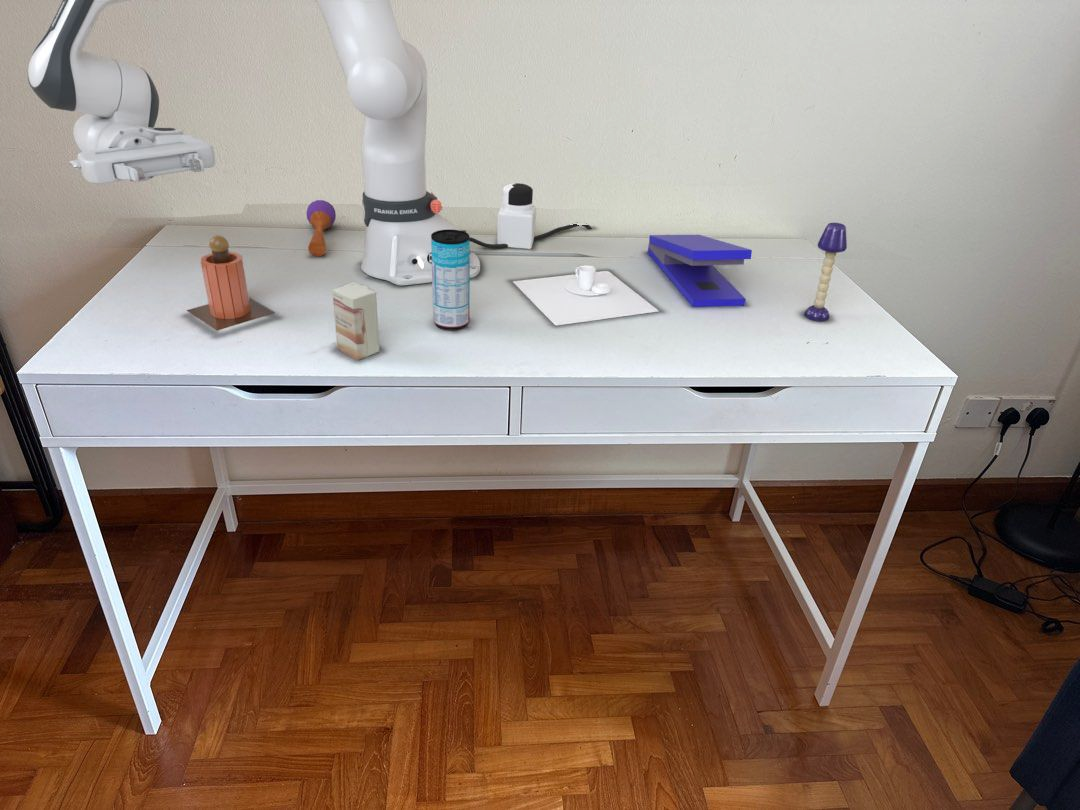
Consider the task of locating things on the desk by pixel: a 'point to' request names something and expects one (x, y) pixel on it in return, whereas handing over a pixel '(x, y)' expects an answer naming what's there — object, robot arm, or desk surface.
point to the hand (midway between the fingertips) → (170, 170)
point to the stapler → (698, 267)
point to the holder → (220, 255)
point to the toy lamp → (827, 268)
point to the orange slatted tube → (226, 287)
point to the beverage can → (451, 278)
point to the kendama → (319, 224)
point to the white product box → (356, 320)
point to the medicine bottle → (517, 217)
